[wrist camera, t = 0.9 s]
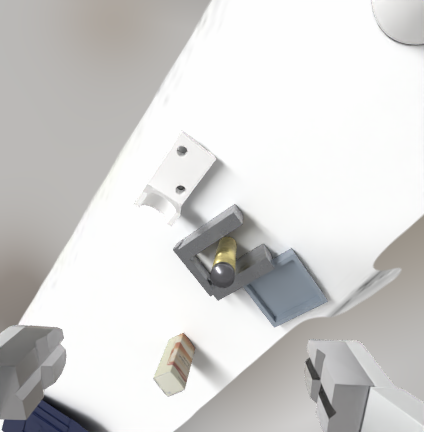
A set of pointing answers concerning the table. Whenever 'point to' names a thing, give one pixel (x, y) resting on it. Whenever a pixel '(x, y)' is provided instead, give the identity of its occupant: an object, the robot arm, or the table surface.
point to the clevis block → (210, 233)
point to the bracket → (176, 177)
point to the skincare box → (175, 365)
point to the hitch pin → (224, 263)
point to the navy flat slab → (43, 421)
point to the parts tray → (285, 290)
